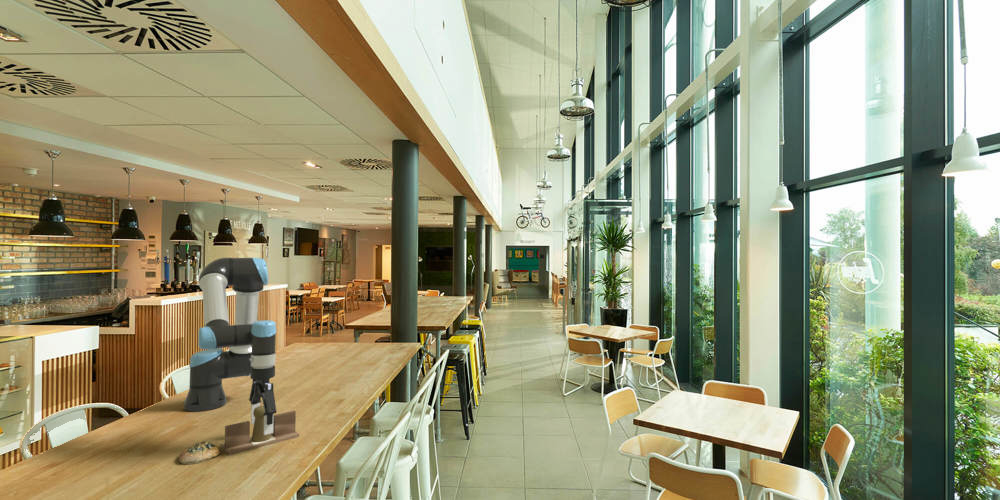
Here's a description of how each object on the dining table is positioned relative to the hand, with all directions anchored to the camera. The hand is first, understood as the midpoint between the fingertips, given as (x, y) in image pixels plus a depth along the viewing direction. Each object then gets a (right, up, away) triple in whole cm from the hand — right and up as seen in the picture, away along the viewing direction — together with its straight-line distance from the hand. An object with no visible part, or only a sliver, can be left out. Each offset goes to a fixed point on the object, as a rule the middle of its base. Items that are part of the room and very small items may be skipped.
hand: (261, 428), depth 155 cm
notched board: (0, -5, 0) cm, 4 cm away
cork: (0, -4, 0) cm, 4 cm away
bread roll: (-13, -5, -12) cm, 19 cm away
